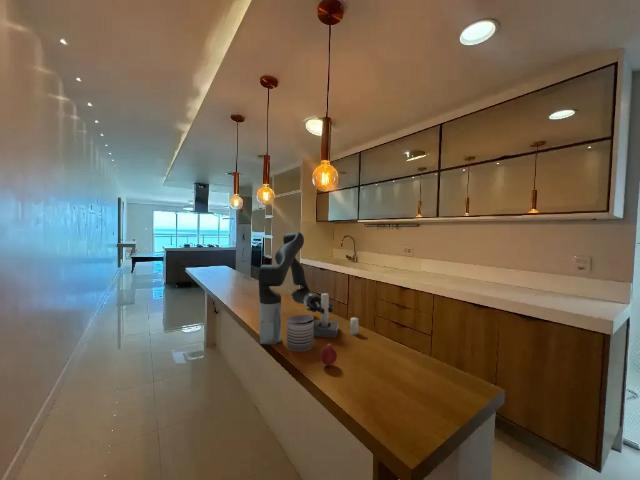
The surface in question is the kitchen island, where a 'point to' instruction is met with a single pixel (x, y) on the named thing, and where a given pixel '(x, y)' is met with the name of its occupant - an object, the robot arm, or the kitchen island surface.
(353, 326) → the short pin
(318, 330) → the hole plate
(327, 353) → the onion
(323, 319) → the long pin
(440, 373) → the kitchen island surface
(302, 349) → the can
